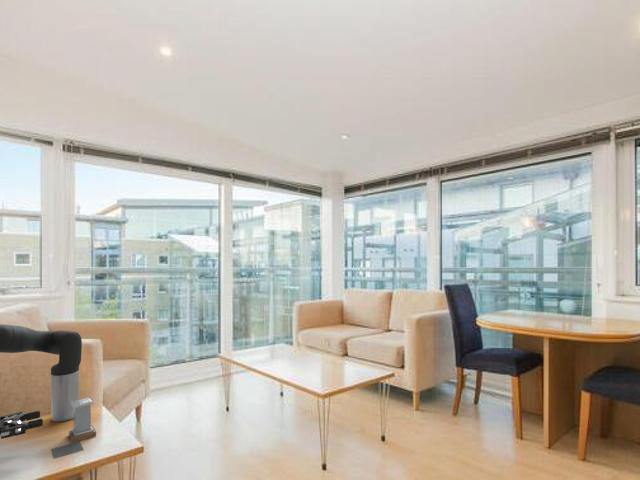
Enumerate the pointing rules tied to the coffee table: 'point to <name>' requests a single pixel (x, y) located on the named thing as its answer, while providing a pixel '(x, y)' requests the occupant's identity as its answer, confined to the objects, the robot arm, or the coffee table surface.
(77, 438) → the plinth
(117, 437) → the coffee table surface
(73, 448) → the mat
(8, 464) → the coffee table surface
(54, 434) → the coffee table surface
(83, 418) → the housing
